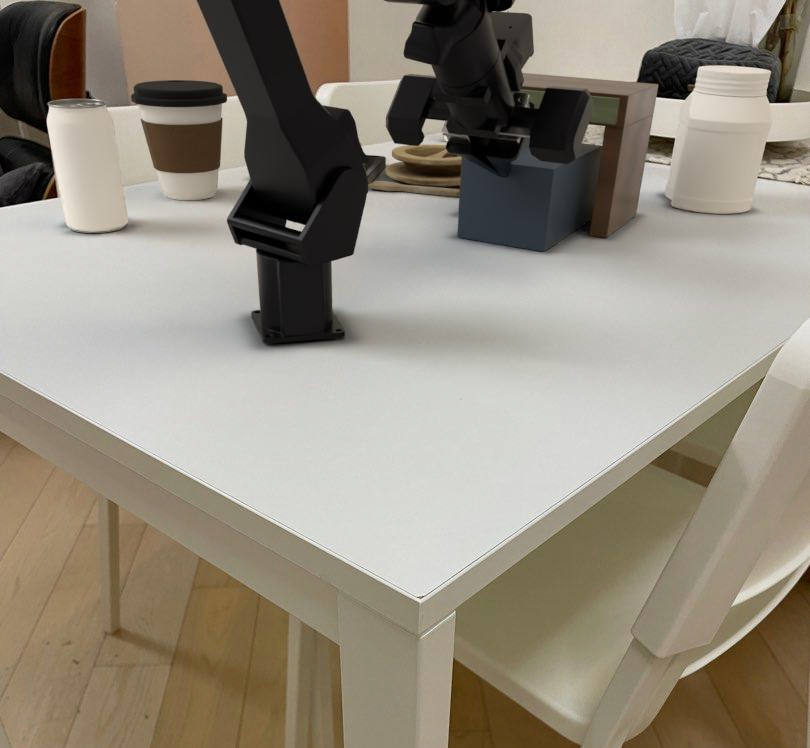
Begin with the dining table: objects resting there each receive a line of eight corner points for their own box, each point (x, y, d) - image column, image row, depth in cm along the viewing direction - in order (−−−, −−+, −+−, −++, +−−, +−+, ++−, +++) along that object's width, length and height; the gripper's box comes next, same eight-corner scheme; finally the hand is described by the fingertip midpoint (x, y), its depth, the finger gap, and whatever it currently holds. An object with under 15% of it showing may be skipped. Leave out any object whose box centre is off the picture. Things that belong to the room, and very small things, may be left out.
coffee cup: (142, 186, 108) (127, 79, 101) (229, 183, 111) (220, 79, 104) (147, 207, 100) (131, 92, 93) (241, 202, 102) (232, 90, 96)
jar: (755, 215, 104) (789, 76, 95) (675, 211, 104) (702, 72, 96) (734, 194, 113) (763, 65, 105) (661, 191, 114) (684, 62, 105)
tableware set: (247, 179, 113) (244, 130, 110) (299, 153, 129) (298, 109, 125) (467, 198, 107) (470, 147, 104) (493, 169, 123) (497, 123, 120)
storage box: (544, 251, 88) (553, 169, 84) (457, 237, 92) (461, 157, 88) (591, 219, 100) (602, 145, 96) (512, 207, 104) (519, 136, 99)
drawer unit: (605, 239, 93) (627, 96, 85) (455, 216, 100) (463, 81, 92) (636, 215, 102) (658, 84, 94) (497, 195, 109) (508, 71, 101)
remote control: (387, 156, 122) (367, 177, 110) (386, 164, 123) (367, 186, 111) (333, 153, 123) (307, 173, 111) (333, 161, 124) (308, 182, 111)
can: (53, 228, 91) (28, 103, 84) (97, 215, 96) (77, 96, 89) (98, 237, 89) (76, 109, 82) (141, 224, 93) (124, 101, 87)
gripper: (603, -21, 69) (621, 111, 83) (401, -28, 76) (449, 95, 90) (559, 99, 68) (584, 213, 82) (357, 81, 75) (413, 188, 89)
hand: (505, 173), depth 86 cm, fingers closed, pressing on storage box
